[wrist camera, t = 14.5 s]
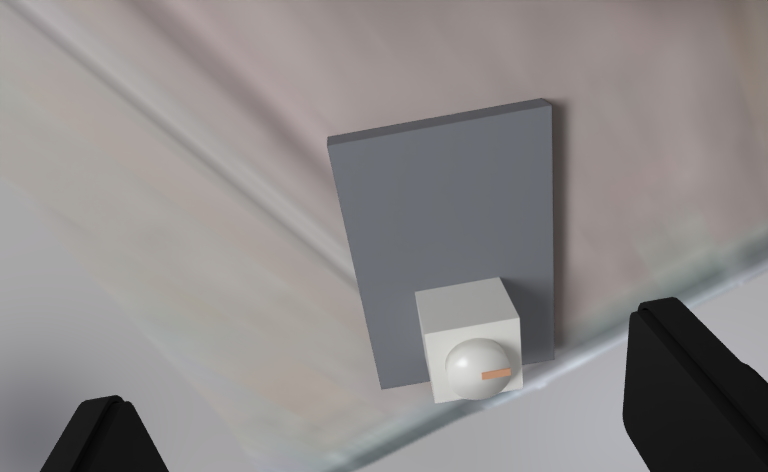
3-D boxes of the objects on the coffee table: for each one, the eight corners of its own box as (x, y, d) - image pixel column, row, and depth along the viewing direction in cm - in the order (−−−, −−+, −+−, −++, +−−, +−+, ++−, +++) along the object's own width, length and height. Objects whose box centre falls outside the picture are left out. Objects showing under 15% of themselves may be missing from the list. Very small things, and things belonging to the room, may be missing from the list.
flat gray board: (379, 373, 47) (384, 421, 42) (327, 136, 36) (325, 164, 31) (546, 344, 46) (570, 388, 42) (541, 98, 36) (572, 119, 31)
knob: (425, 356, 44) (438, 419, 38) (414, 291, 40) (427, 348, 35) (503, 343, 43) (529, 403, 38) (499, 277, 40) (526, 331, 34)
